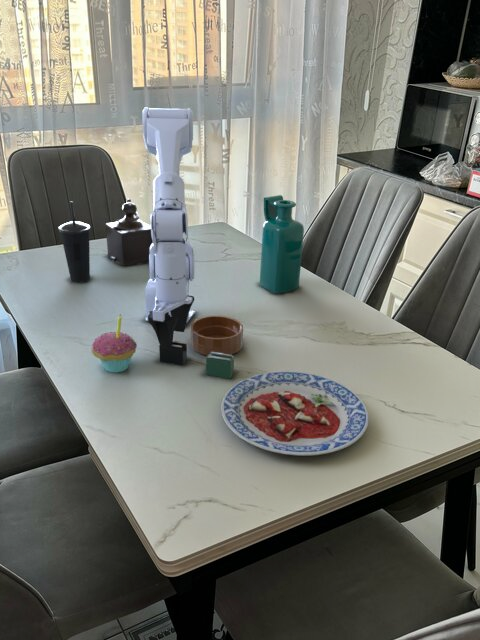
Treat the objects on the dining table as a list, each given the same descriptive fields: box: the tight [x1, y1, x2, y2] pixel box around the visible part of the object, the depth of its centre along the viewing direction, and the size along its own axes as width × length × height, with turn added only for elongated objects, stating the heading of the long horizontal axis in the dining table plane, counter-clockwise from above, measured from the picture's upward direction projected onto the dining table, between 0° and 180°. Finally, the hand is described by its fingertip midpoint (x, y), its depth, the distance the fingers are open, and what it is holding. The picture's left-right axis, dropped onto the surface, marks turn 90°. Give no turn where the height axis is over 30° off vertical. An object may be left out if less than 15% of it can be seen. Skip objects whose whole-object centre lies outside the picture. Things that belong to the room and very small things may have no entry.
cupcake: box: [91, 313, 137, 373], centre depth 117 cm, size 9×8×12 cm
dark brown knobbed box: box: [105, 198, 153, 267], centre depth 165 cm, size 16×11×18 cm
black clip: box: [158, 340, 188, 366], centre depth 122 cm, size 5×2×4 cm, turn 75°
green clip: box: [205, 352, 235, 380], centre depth 118 cm, size 5×2×4 cm, turn 75°
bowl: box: [190, 315, 244, 357], centre depth 128 cm, size 11×11×4 cm
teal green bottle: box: [259, 194, 305, 294], centre depth 152 cm, size 10×8×22 cm
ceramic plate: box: [220, 371, 370, 457], centre depth 106 cm, size 26×26×3 cm
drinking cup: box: [58, 200, 91, 284], centre depth 152 cm, size 8×8×20 cm
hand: (172, 339), depth 120 cm, fingers open, 7 cm apart
